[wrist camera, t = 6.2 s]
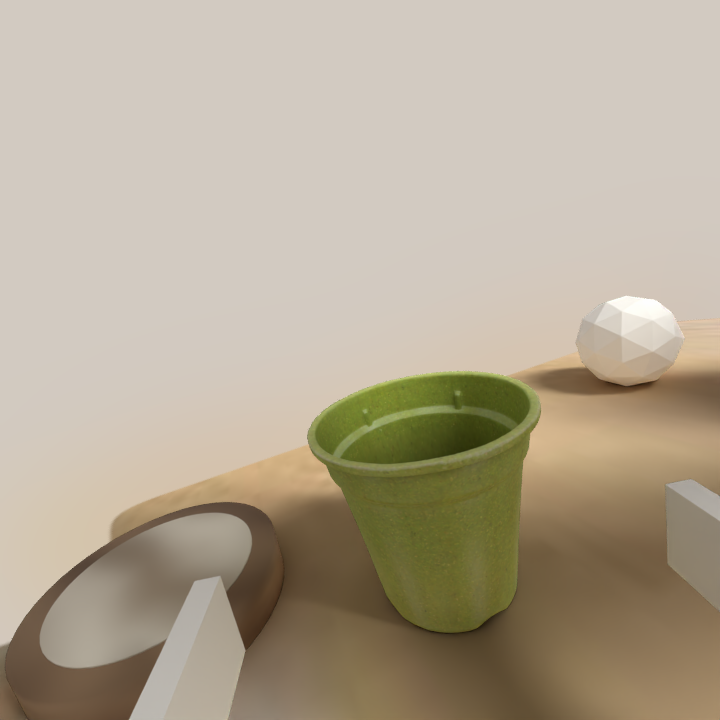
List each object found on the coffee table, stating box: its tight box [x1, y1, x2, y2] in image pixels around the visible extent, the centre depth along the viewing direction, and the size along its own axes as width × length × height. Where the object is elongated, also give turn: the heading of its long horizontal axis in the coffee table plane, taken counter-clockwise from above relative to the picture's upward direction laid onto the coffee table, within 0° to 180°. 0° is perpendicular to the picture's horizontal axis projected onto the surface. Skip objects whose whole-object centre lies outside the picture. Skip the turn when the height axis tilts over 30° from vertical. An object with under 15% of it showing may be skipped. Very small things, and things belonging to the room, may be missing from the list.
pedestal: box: [5, 502, 284, 720], centre depth 20 cm, size 12×12×2 cm
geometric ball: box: [576, 296, 685, 386], centre depth 35 cm, size 8×8×8 cm
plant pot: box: [307, 371, 541, 633], centre depth 18 cm, size 9×9×9 cm
